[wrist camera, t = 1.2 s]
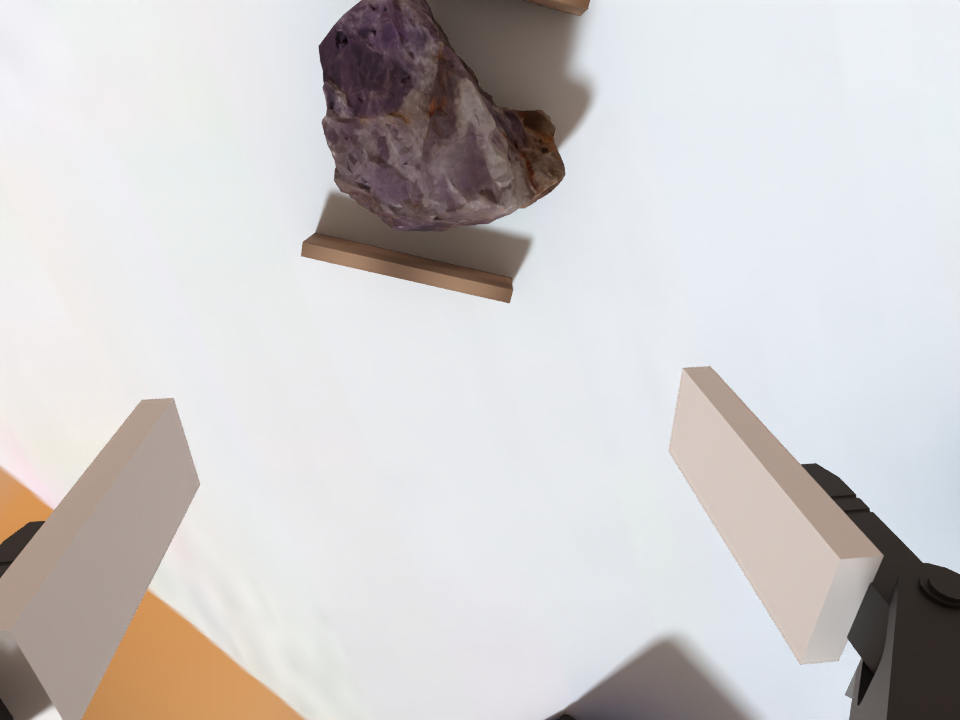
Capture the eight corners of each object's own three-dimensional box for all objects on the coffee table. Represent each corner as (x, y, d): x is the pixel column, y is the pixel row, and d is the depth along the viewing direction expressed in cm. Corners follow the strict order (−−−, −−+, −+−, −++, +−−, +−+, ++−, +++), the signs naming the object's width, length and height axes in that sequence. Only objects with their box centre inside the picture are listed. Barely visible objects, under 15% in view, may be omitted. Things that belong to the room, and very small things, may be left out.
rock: (443, -15, 31) (312, 122, 33) (408, -91, 22) (238, 98, 25) (583, 162, 32) (449, 279, 35) (598, 152, 24) (421, 306, 27)
